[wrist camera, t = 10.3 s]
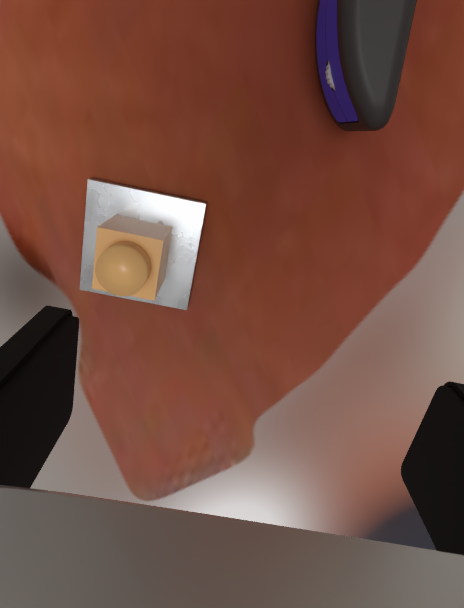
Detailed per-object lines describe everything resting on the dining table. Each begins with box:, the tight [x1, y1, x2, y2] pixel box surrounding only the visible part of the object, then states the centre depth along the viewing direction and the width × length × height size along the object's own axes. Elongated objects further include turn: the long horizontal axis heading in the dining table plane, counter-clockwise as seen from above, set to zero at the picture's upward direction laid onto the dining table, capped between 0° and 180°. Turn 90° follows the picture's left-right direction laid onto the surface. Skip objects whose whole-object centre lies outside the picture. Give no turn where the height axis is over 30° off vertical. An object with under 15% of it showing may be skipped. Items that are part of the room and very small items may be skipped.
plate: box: [80, 178, 207, 310], centre depth 36 cm, size 10×10×4 cm
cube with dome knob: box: [92, 215, 172, 301], centre depth 34 cm, size 5×5×7 cm
